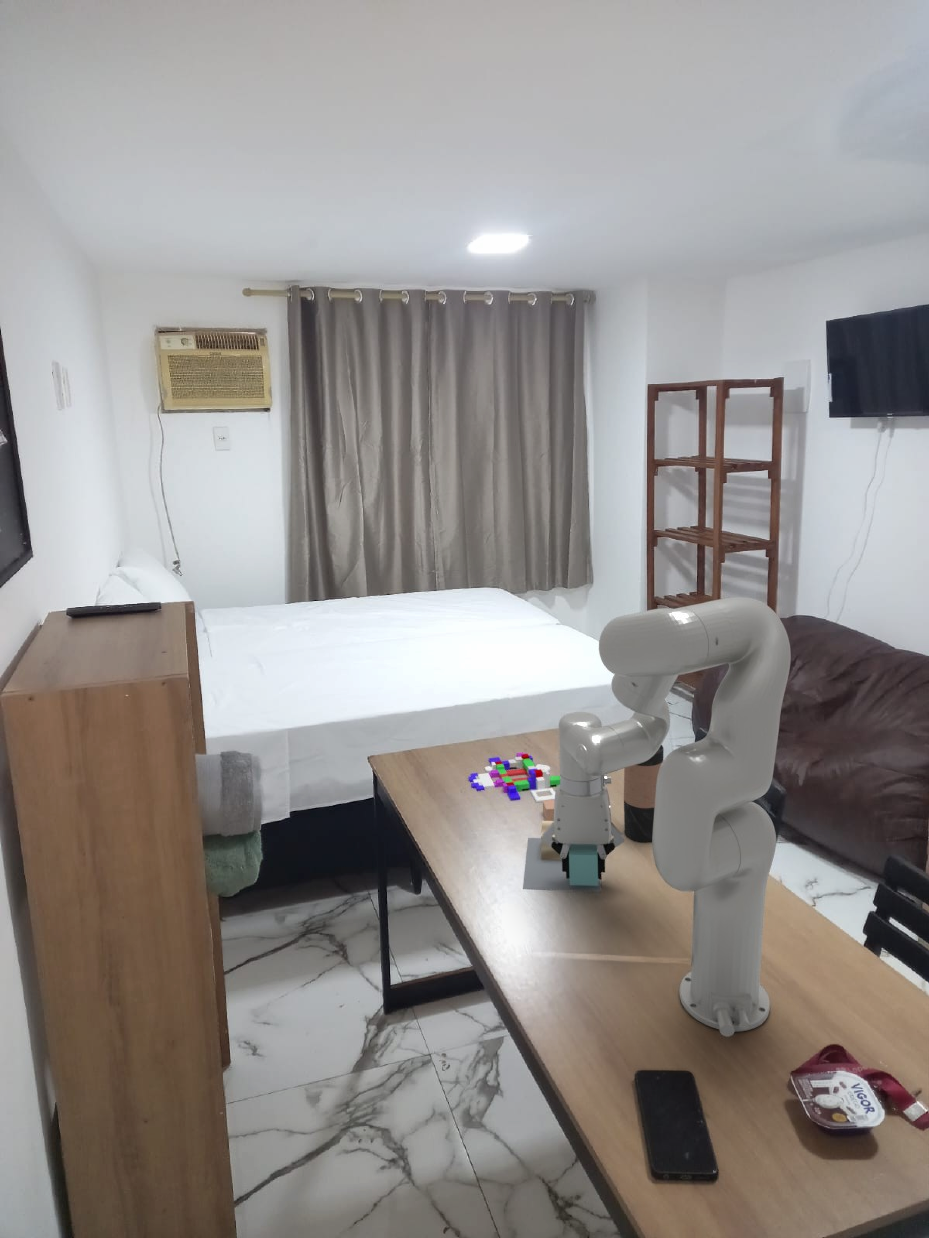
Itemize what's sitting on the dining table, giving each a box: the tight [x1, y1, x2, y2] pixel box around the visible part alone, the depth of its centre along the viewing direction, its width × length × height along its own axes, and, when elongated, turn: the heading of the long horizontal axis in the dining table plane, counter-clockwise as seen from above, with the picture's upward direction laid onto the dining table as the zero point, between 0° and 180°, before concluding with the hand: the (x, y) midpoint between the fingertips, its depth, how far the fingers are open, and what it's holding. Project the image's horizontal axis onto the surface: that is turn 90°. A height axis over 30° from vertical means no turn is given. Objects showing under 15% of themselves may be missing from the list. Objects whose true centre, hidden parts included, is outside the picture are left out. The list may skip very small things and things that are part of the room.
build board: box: [522, 837, 602, 893], centre depth 154 cm, size 18×14×1 cm
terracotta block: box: [542, 800, 555, 821], centre depth 172 cm, size 4×4×4 cm
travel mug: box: [623, 744, 665, 844], centre depth 161 cm, size 8×8×20 cm
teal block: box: [569, 844, 598, 886], centre depth 146 cm, size 5×5×6 cm
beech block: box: [540, 820, 562, 860], centre depth 158 cm, size 6×6×5 cm
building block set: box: [467, 752, 560, 804], centre depth 191 cm, size 25×20×4 cm
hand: (583, 873), depth 147 cm, fingers closed on teal block, 5 cm apart
